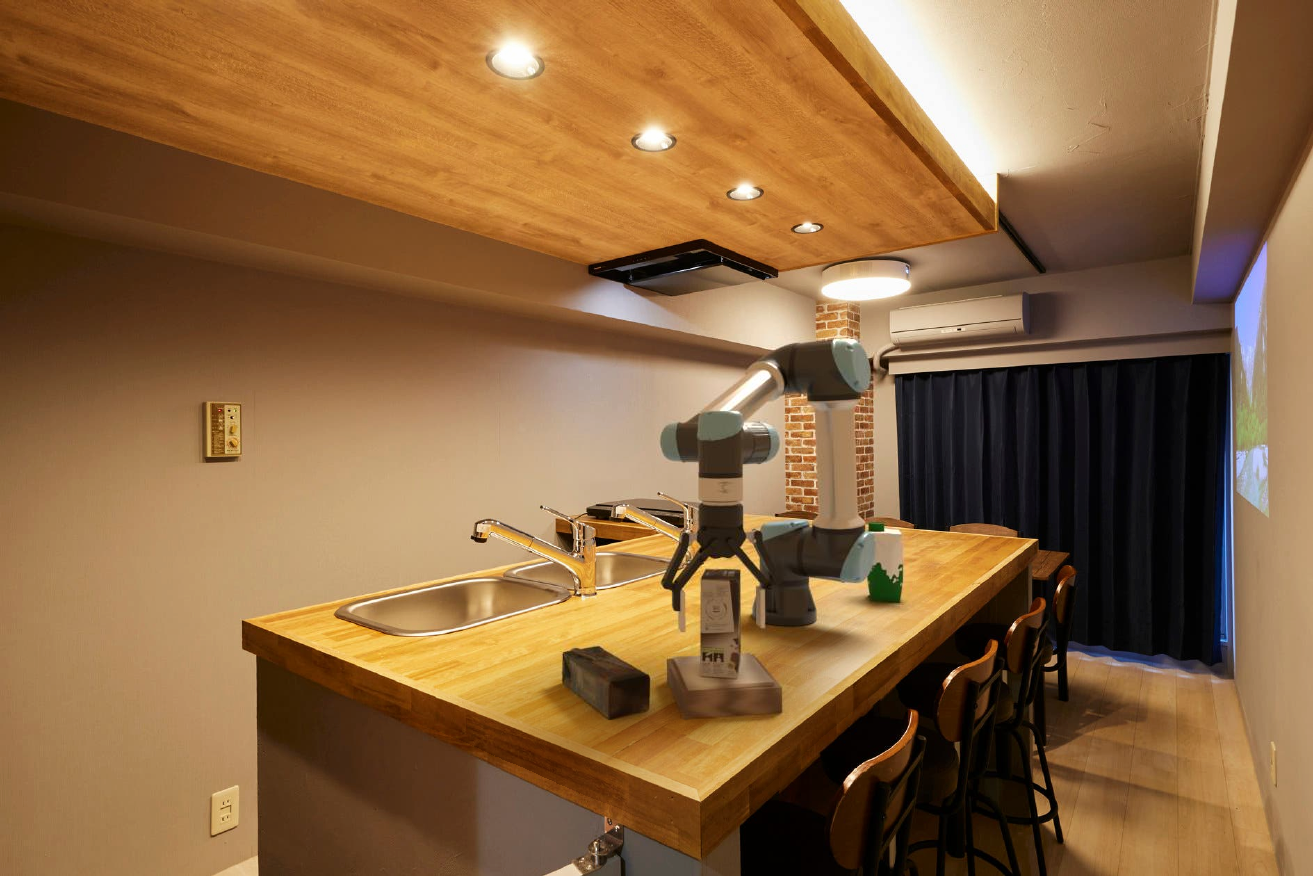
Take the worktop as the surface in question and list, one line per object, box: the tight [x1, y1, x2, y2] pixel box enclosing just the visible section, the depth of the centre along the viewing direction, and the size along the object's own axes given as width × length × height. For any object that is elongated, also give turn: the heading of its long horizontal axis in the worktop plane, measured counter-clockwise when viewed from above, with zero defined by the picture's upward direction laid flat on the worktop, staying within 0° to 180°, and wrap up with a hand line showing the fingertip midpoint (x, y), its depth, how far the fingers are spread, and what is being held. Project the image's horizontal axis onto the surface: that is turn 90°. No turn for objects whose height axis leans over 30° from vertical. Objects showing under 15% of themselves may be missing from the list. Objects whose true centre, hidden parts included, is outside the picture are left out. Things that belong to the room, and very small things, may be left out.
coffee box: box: [699, 568, 742, 679], centre depth 114 cm, size 9×6×16 cm
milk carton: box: [866, 521, 904, 603], centre depth 179 cm, size 9×9×20 cm
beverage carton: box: [561, 645, 651, 720], centre depth 114 cm, size 8×19×6 cm, turn 31°
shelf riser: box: [666, 652, 783, 720], centre depth 114 cm, size 16×16×5 cm
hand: (721, 628), depth 114 cm, fingers open, 13 cm apart
